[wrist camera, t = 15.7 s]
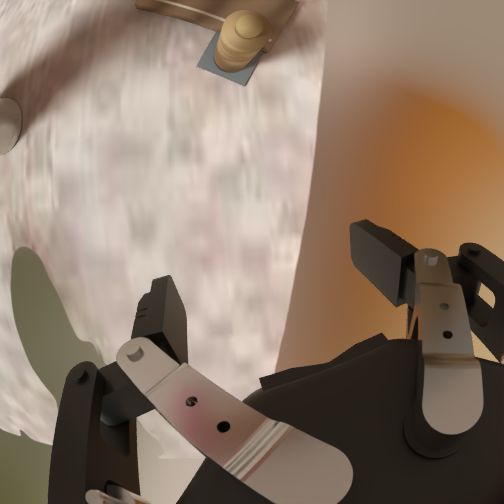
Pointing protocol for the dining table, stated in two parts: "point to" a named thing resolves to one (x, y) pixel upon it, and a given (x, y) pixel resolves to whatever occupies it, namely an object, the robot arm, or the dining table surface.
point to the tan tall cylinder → (241, 40)
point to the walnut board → (223, 12)
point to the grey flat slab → (209, 65)
